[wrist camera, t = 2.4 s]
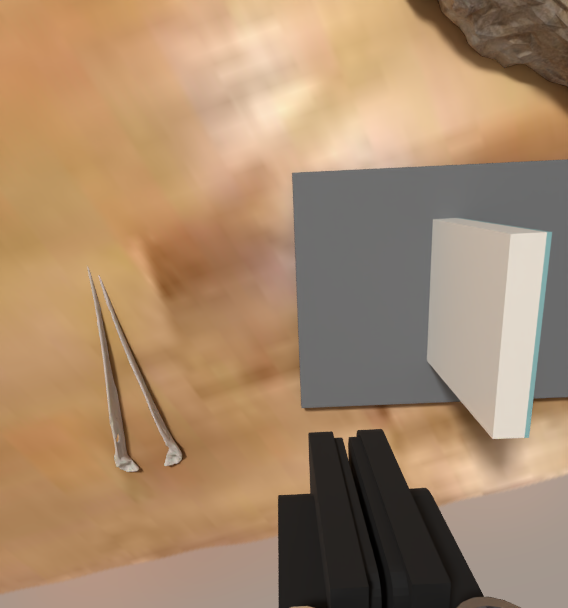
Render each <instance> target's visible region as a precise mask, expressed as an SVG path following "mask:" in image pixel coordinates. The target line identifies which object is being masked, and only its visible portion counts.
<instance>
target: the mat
mask: <svg viewBox="0 0 568 608" xmlns="http://www.w3.org/2000/svg"><path fill="white" fill-rule="evenodd" d="M292 181H293V206H294V231H295V257H296V282H297V308H298V333H299V358H300V384H301V406H302V408H314V407H338V406H363V405H387V404H411V403H435V402H460V400H459V398H458V397H457V396H456V395H455V394H454V392H453V391H452V390H451V389H450V388H449V387H448V385H447V384H446V383H445V382H444V381H443V379H442V378H441V377H440V376H439V375H438V373H437V372H436V371H435V370H434V369H433V367H432V366H431V365H430V364H429V363H428V362H427V347H428V323H429V299H430V276H431V252H432V228H433V219H446V218H464V219H471V220H477V221H484V222H490V223H497V224H503V225H510V226H516V227H523V228H530V229H536V230H543V231H549V232H552V238H551V247H550V256H549V265H548V274H547V283H546V291H545V300H544V309H543V318H542V327H541V336H540V344H539V353H538V362H537V371H536V380H535V389H534V397H533V398H557V397H568V160H549V161H529V162H508V163H487V164H466V165H446V166H425V167H404V168H383V169H363V170H342V171H321V172H301V173H292Z"/></svg>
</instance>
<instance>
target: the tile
mask: <svg viewBox="0 0 568 608" xmlns="http://www.w3.org/2000/svg"><path fill="white" fill-rule="evenodd" d="M551 238H552V232H549V231H543V230H536V229H530V228H523V227H516V226H510V225H503V224H497V223H490V222H484V221H477V220H471V219H464V218H446V219H433V228H432V252H431V276H430V299H429V323H428V347H427V362H428V363H429V364H430V365H431V366H432V367H433V369H434V370H435V371H436V372H437V373H438V375H439V376H440V377H441V378H442V379H443V381H444V382H445V383H446V384H447V385H448V387H449V388H450V389H451V390H452V391H453V392H454V394H455V395H456V396H457V397H458V398H459V400H460V401H461V402H462V403H463V404H464V406H465V407H466V408H467V409H468V410H469V412H470V413H471V414H472V415H473V416H474V418H475V419H476V420H477V421H478V422H479V423H480V425H481V426H482V427H483V428H484V429H485V431H486V432H487V433H488V434H489V435H490V437H491V438H492V439H505V438H529V433H530V424H531V415H532V406H533V397H534V389H535V380H536V371H537V362H538V353H539V344H540V336H541V327H542V318H543V309H544V300H545V291H546V283H547V274H548V265H549V256H550V247H551Z"/></svg>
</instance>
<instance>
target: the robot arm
mask: <svg viewBox="0 0 568 608" xmlns="http://www.w3.org/2000/svg"><path fill="white" fill-rule="evenodd" d="M348 449H349V461H348V457H347V453H346V450H345V446H344V442H343V439H342V438H334V436H333V432H314V433H309V465H310V493H311V494H297V495H278V540H279V541H278V545H279V546H278V547H279V548H278V550H279V608H520V607H518V606H516V605H514V604H511V603H509V602H507V601H505V600H501V599H496V598H492V597H484V596H483V594H482V592H481V590H480V588H479V586H478V584H477V582H476V581H475V578H474V576H473V574H472V572H471V571H470V569H469V567H468V565H467V563H466V561H465V559H464V557H463V555H462V553H461V551H460V549H459V547H458V545H457V543H456V541H455V539H454V537H453V536H452V534H451V532H450V530H449V528H448V526H447V524H446V522H445V520H444V518H443V516H442V514H441V512H440V510H439V508H438V506H437V504H436V502H435V500H434V498H433V496H432V495H431V493H430V492H429V490H428V489H426V488H415V489H409V488H408V485H407V483H406V481H405V479H404V476H403V474H402V472H401V470H400V468H399V465H398V463H397V461H396V459H395V456H394V454H393V452H392V450H391V447H390V445H389V443H388V441H387V438H386V436H385V434H384V432H383V430H382V429H374V430H358V431H357V437H349V442H348Z"/></svg>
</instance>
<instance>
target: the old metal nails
mask: <svg viewBox="0 0 568 608" xmlns="http://www.w3.org/2000/svg"><path fill="white" fill-rule="evenodd" d="M87 269H88V273H89V278H90V283H91V288H92V293H93V298H94V304H95V310H96V315H97V325H98V329H99V336H100V341H101V348H102V355H103V363H104V371H105V381H106V391H107V399H108V409H109V419H110V424H111V429H112V433H113V438H114V443H115V450H116V451H115V456H114V459H115V463H116V467H119V468H120V469H122V470H125V471H127V472H129V471H131V472H133V471H138V470H139V467H138V465H137V464H135V463H134V462H133V460H131V458H130V457H129V456H128V454H127V450H126V444H125V436H124V430H123V423H122V417H121V411H120V405H119V400H118V393H117V389H116V386H115V383H114V379H113V375H112V370H111V366H110V360H109V353H108V347H107V341H106V337H105V331H104V327H103V321H102V318H101V308H100V305H99V302H98V299H97V295H96V290H95V287H94V283H93V280H92V276H91V273H90V270H89V268H88V266H87ZM99 280H100V283H101V286H102V289H103V293H104V297H105V300H106V303H107V306H108V308H109V310H110V312H111V315H112V318H113V321H114V324H115V327H116V329H117V332H118V334H119V337H120V340H121V343H122V345H123V347H124V350H125V352H126V355H127V357H128V360H129V362H130V365H131V367H132V369H133V371H134V373H135V376H136V378H137V380H138V382H139V384H140V387H141V389H142V391H143V393H144V396H145V398H146V401H147V403H148V406H149V409H150V411H151V414H152V417H153V419H154V421H155V423H156V425H157V427H158V429H159V432H160V434H161V435H162V437H163V439H164V441H165V443H166V446H168V447H169V451H168V453H167V455H166V461H165V463H164V465H165V466H169V465H173V464H177V463H179V462H180V461H181V460H182V453H181V451H180V449H179V447H178V445H177V444H176V443H175V441H174V440H173V438H172V436H171V434H170V433H169V431H168V430H167V428H166V426H165V424H164V421H163V419H162V417H161V415H160V413H159V411H158V409H157V407H156V405H155V404H154V402H153V400H152V397H151V395H150V393H149V391H148V389H147V386H146V384H145V382H144V379H143V377H142V375H141V373H140V371H139V368H138V366H137V364H136V362H135V359H134V357H133V355H132V353H131V350H130V348H129V346H128V344H127V342H126V339H125V337H124V335H123V332H122V330H121V327H120V325H119V322H118V320H117V318H116V315H115V313H114V309H113V307H112V304H111V302H110V300H109V297H108V295H107V292H106V290H105V287H104V285H103V283H102V280H101V278H100V276H99ZM118 434H119V441H118V442H116V438H117V435H118Z"/></svg>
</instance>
